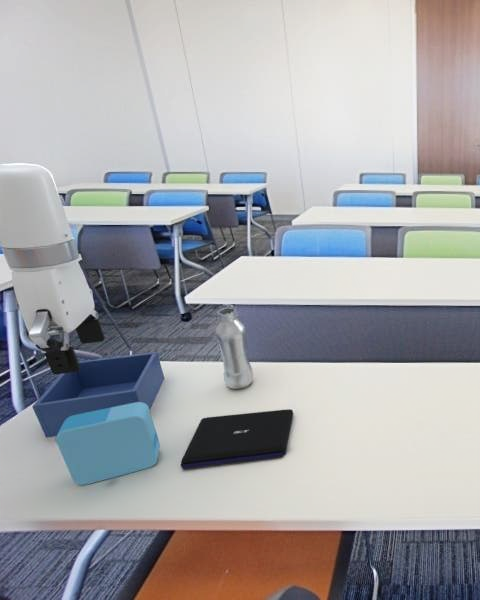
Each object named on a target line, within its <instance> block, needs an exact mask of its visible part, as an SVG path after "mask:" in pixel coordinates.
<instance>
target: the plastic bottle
mask: <svg viewBox="0 0 480 600" xmlns="http://www.w3.org/2000/svg"><path fill="white" fill-rule="evenodd" d="M237 318H238V315H237V311H236V309H235V308H234V307H225V308H221V309H219V310H217V319H218V321H219V322H218V324H217V325H216V328H215V331H214V336H215V339H216V341H217V344H218V347H219V349H220V353H221V357H222V365H223V380H224V383H225V385H226V386H227V387H229V388H230V389H234V390H240V389H243V388H246V387H247V386H249V385H251V383H252V382H253V380H254V370H253V367H252V365H251V364H250V360H249V356H248V353H247V352H248V350H247V344H246V343H247V342H246V341H247V339H246V338H247V337H246V335H247V334H246V332H247V331H246V327H245V325H244V324H243V323H242V322H241V321H240V320H239V319H237Z"/></svg>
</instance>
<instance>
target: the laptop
mask: <svg viewBox="0 0 480 600" xmlns="http://www.w3.org/2000/svg"><path fill="white" fill-rule="evenodd" d="M293 417H294V410H293V409H290V408H289V409H277V410H267V411H258V412H257V411H256V412H249V413H248V412H247V413H238V414H228V415H220V416H219V415H217V416H207V417H203V418H202V419H200V421H199V423H198V426H197V427H196V429H195V431H194V433H193V436H192V438H191V439H190V442H189V444H188V446H187V448H186V450H185V451H184V454H183V456H182V458H181V461H180V467H181V469H182V470H186V469H195V468H202V467H209V466H211V467H212V466H218V465H228V464H234V463H235V464H236V463H242V462H250V461H259V460H268V459H275V458H282V457H284V456H285V455H286V453H287V448H288V444H289V438H290V433H291V428H292V422H293Z"/></svg>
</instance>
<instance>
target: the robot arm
mask: <svg viewBox="0 0 480 600" xmlns="http://www.w3.org/2000/svg"><path fill="white" fill-rule="evenodd" d="M0 249H1V251H2V253H3V256H4V258H5V261H6V263H7V265H8V268H9V270H10V271H12V272H11V279H12V280H11V281H12V286H13V290H14V294H15V298H16V301H17V304H18V308H19V310H20V314H21V316H22V319H23V322H24V324H25V327H26V330H27V333H28V338H29V339H30V340H31V342H33V343H34V344H35V345H34V346H35V347H36V349H38V350H39V351H40V353H41V354H44V356H45V359H46V362H47V364H48V366H49V368H50V371H51V373H52V374H53V375H60V374H63V373H71V372H78V371H79V370H80V369H81V367H80V364H79V362H78V361H79V360H78V357H77V353H76V352H75V348H74V346H70V333H72V332H73V331H74V330H75V331H76V334H77V336H78V339H79V341H80V343H81V344H91V343H100V342H101V343H102V342H104V341H105V340H106V337H105V334H104V331H103V328H102V324H101V322H100V319H99V313H98V311H96V306H97V303H96V302H95V301H94V296H93V295H94V294H93V289H92V288H90V286H89V284H88V281H87V278H86V276H85V273H84V271H83V269H82V267H81V265H80V263H79V262H80V261H81V259H82V258H81V256H80V253H79V250H78V247H77V244H76V241H75V238H74V235H73V232H72V229H71V226H70V224H69V221H68V218H67V215H66V212H65V209H64V206H63V203H62V200H61V197H60V194H59V191H58V188H57V185H56V182H55V180H54V177H53V174H52V173H51V171H50V170H48V169H47V168H46V167H44V166H42V165H39V164H32V163H0ZM56 328H57V329H56ZM53 336H54V337H55V336H59V340H57V339H55V338H51V337H53Z"/></svg>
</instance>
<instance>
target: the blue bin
mask: <svg viewBox="0 0 480 600" xmlns="http://www.w3.org/2000/svg"><path fill="white" fill-rule="evenodd" d="M78 362H79V364H80V367H81V369H80V370H79V371H78V372H71V373H63V374H58V377H56V379H55V380H54V381H53V382H52V383H51V384H50V386H49V387H48V388H47V389H46V390H45V391H44V393H42V394H41V396H40V397H39V398H38V399H37V400H36V401H35V403H34V404H33V405H32V410H33V412H34V414H35V416H36V419H37V421H38V423H39V425H40V427H41V429H42V432H43V434H44V436H45V438H49V437H56V436H57V434H58V432H59V431H60V429H61V427H62V425H63V423H64V421H65V420H66V419H67V418H68V417H70V416H73V415H77V414H82V413H87V412H92V411H97V410H102V409H106V408H111V407H116V406H121V405H126V404H131V403H136V402H142V403H145V404H147V405H148V407H149V410H150V411H151V408H152V406H153V404H154V401H155V400H156V397H157V395H158V393H159V391H160V389H161V387H162V384H163V382H164V380H165V375H164V371H163V368H162V367H163V366H162V365H161V360H160V357H159V354H158V351H154V352H153V351H152V352H145V353H137V354H128V355H120V356H112V357H104V358H95V359H88V360H78Z"/></svg>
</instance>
